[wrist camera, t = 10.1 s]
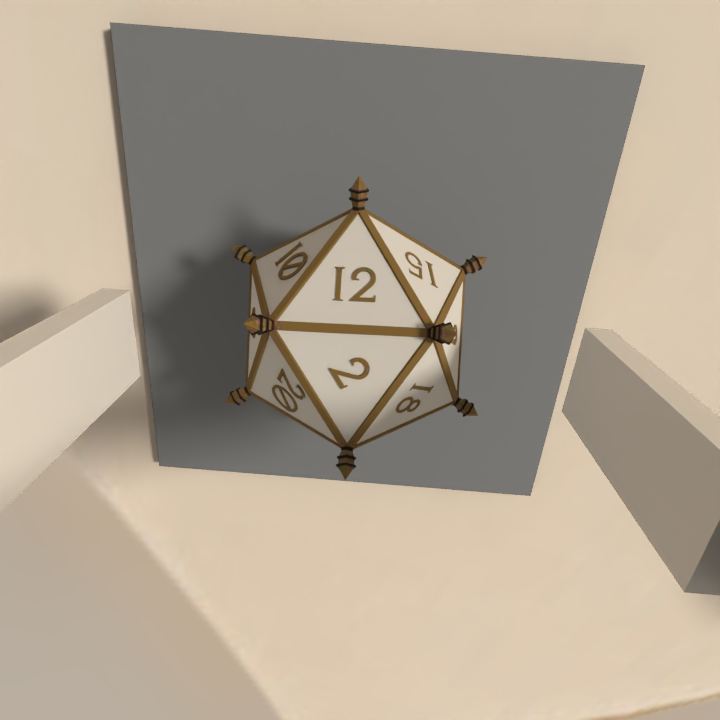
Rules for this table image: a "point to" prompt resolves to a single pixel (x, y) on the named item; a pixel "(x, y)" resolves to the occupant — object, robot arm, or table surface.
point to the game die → (354, 329)
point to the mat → (387, 201)
